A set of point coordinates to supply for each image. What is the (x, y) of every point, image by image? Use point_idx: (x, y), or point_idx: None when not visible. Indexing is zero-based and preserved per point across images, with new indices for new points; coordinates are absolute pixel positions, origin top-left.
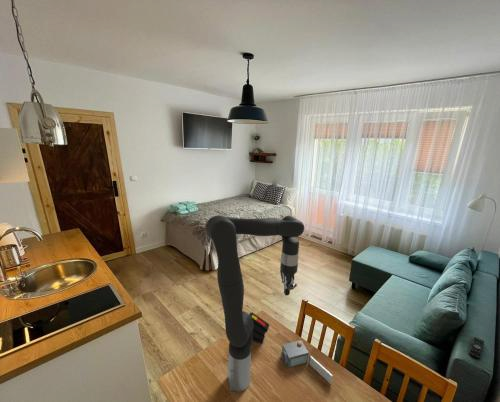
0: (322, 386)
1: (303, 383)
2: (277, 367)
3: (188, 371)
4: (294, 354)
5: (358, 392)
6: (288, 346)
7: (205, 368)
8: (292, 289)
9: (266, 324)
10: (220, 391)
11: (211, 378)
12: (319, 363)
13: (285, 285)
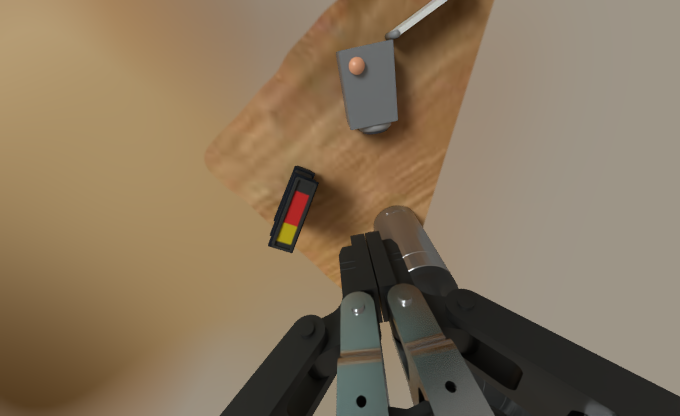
0: (459, 18)
1: (436, 79)
2: (382, 141)
3: None
4: (390, 98)
5: None
6: (360, 111)
7: None
8: (477, 298)
9: (298, 187)
10: None
11: None
12: (430, 5)
13: (404, 359)
